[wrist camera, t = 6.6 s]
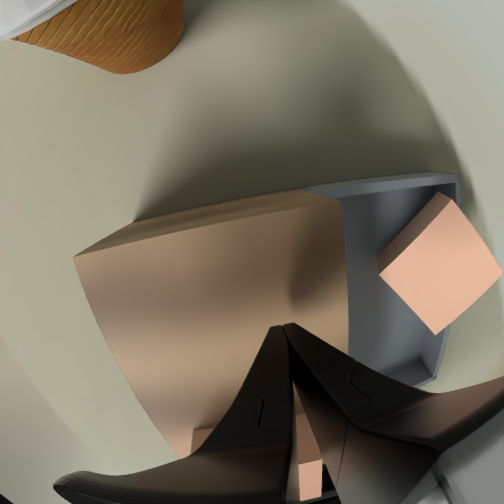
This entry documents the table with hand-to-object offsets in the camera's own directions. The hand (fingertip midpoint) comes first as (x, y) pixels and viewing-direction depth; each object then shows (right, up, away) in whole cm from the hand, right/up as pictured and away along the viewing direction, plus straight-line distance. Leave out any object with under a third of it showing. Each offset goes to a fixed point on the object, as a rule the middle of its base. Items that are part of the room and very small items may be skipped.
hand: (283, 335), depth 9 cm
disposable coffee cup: (-8, +17, +3) cm, 19 cm away
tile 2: (+10, +2, +3) cm, 11 cm away
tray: (+8, 0, +9) cm, 12 cm away
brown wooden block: (-2, -2, +9) cm, 9 cm away
